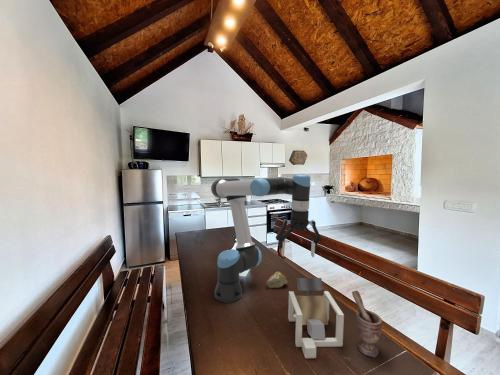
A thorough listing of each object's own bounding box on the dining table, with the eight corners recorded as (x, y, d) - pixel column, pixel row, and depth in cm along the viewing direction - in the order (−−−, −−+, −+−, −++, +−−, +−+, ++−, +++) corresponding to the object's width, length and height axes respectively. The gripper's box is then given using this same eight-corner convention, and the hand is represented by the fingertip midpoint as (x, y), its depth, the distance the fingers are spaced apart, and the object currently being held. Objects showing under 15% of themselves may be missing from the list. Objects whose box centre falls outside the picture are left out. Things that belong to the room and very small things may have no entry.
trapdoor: (297, 324, 92) (299, 326, 88) (293, 278, 99) (295, 278, 96) (327, 324, 92) (330, 326, 89) (321, 278, 100) (324, 278, 96)
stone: (306, 319, 92) (311, 324, 85) (318, 319, 92) (324, 324, 85) (307, 332, 91) (312, 339, 84) (319, 332, 91) (325, 339, 84)
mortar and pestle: (343, 343, 85) (345, 295, 83) (352, 332, 91) (354, 287, 89) (375, 362, 77) (378, 309, 75) (383, 349, 83) (386, 299, 81)
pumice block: (305, 358, 78) (305, 348, 78) (302, 349, 82) (302, 339, 82) (316, 358, 78) (316, 348, 78) (312, 349, 82) (312, 339, 82)
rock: (272, 295, 125) (266, 283, 122) (268, 285, 133) (262, 273, 130) (290, 286, 126) (284, 274, 122) (285, 276, 134) (279, 264, 131)
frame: (296, 346, 83) (297, 315, 82) (288, 318, 99) (288, 291, 98) (342, 346, 84) (344, 314, 83) (327, 318, 100) (328, 291, 98)
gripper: (272, 210, 92) (270, 258, 94) (331, 212, 92) (328, 259, 94) (271, 207, 99) (269, 251, 101) (325, 208, 99) (322, 252, 102)
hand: (297, 255), depth 98 cm, fingers open, 13 cm apart
